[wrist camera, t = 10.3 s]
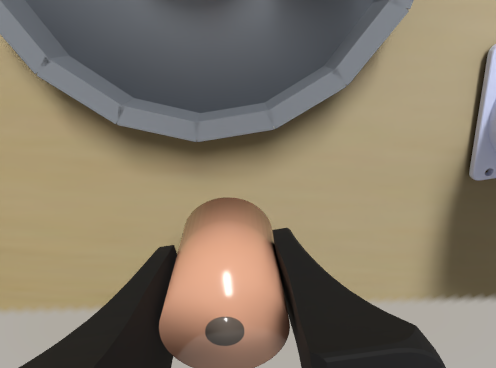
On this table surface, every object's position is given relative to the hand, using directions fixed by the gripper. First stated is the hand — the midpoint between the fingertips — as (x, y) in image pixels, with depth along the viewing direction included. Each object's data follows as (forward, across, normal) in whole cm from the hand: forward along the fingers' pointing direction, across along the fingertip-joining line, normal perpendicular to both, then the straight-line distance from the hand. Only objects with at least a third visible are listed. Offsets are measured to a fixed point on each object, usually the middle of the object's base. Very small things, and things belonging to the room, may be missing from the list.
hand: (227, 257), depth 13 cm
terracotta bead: (+1, 0, 0) cm, 1 cm away
